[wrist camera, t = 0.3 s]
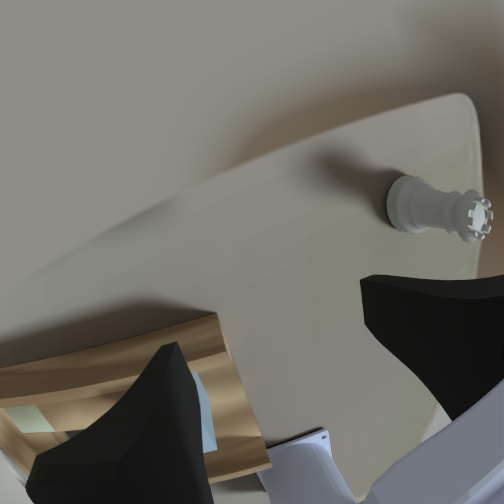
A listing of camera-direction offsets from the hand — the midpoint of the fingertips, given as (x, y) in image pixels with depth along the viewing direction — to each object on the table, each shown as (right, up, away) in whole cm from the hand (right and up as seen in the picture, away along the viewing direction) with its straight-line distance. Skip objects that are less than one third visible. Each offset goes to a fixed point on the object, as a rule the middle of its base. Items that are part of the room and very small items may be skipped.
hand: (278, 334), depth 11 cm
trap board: (-12, -10, +10) cm, 19 cm away
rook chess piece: (+11, +7, +11) cm, 17 cm away
